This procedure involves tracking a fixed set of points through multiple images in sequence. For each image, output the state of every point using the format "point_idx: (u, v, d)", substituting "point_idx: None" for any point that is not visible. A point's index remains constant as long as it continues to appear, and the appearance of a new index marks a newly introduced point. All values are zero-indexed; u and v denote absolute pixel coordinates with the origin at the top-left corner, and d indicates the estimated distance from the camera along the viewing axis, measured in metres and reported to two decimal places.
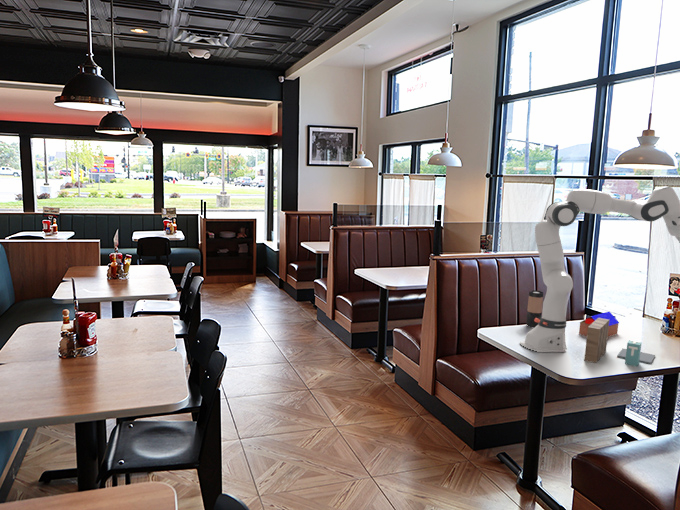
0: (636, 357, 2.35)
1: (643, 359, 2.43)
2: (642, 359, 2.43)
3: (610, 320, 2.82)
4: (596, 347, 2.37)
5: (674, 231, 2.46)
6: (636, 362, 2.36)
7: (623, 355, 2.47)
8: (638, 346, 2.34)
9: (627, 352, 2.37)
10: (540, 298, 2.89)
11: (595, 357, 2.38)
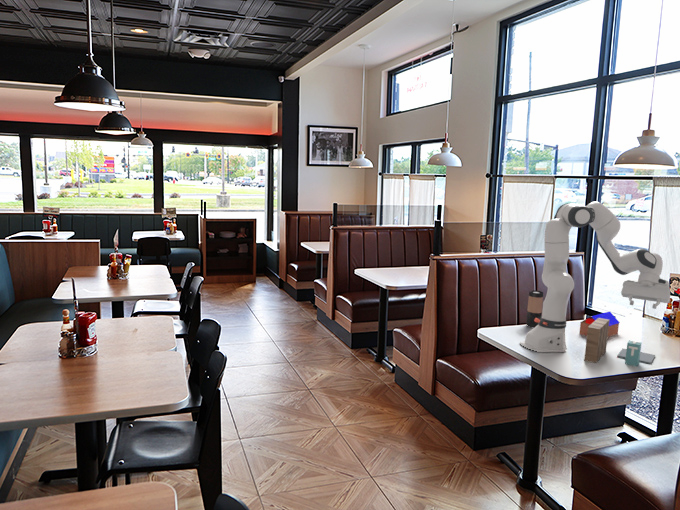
0: (636, 357, 2.35)
1: (643, 359, 2.43)
2: (642, 359, 2.43)
3: (610, 320, 2.82)
4: (596, 347, 2.37)
5: (639, 290, 2.49)
6: (636, 362, 2.36)
7: (623, 355, 2.47)
8: (638, 346, 2.34)
9: (627, 352, 2.37)
10: (540, 298, 2.89)
11: (595, 357, 2.38)
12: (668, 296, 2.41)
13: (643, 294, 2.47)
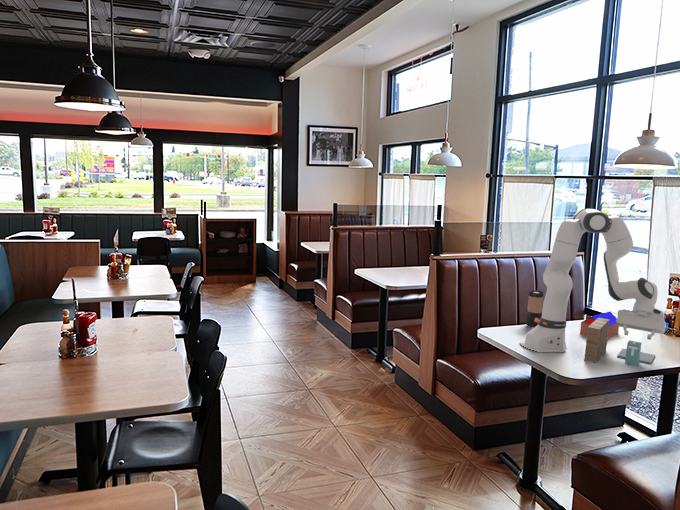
0: (636, 357, 2.35)
1: (643, 359, 2.43)
2: (642, 359, 2.43)
3: (611, 320, 2.82)
4: (596, 347, 2.37)
5: (634, 320, 2.47)
6: (636, 362, 2.36)
7: (623, 355, 2.47)
8: (638, 346, 2.34)
9: (627, 352, 2.37)
10: (540, 298, 2.89)
11: (595, 357, 2.38)
12: (663, 327, 2.39)
13: (638, 324, 2.44)
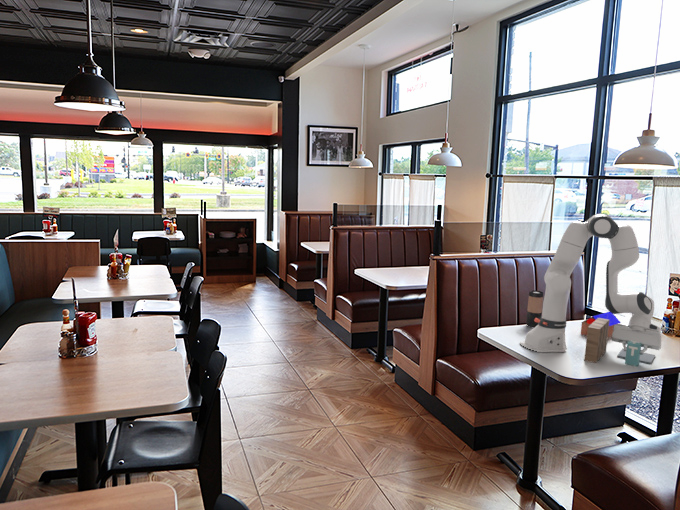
0: (636, 357, 2.35)
1: (643, 359, 2.43)
2: (642, 359, 2.43)
3: (612, 320, 2.82)
4: (596, 347, 2.37)
5: (630, 335, 2.41)
6: (636, 362, 2.36)
7: (623, 355, 2.47)
8: (638, 346, 2.34)
9: (627, 352, 2.37)
10: (540, 298, 2.89)
11: (595, 357, 2.38)
12: (659, 343, 2.34)
13: (634, 340, 2.39)
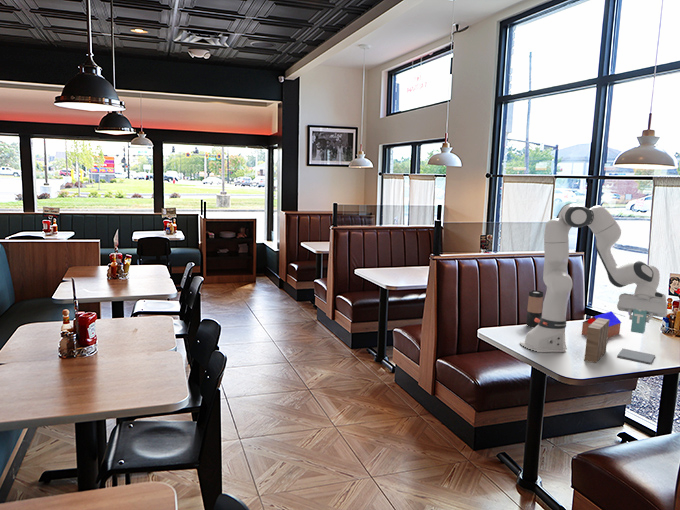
0: (642, 324, 2.37)
1: (643, 359, 2.43)
2: (642, 359, 2.43)
3: (612, 320, 2.82)
4: (596, 347, 2.37)
5: (635, 303, 2.43)
6: (642, 329, 2.37)
7: (623, 355, 2.47)
8: (644, 313, 2.36)
9: (633, 320, 2.39)
10: (540, 298, 2.89)
11: (595, 357, 2.38)
12: (665, 310, 2.35)
13: (639, 308, 2.41)
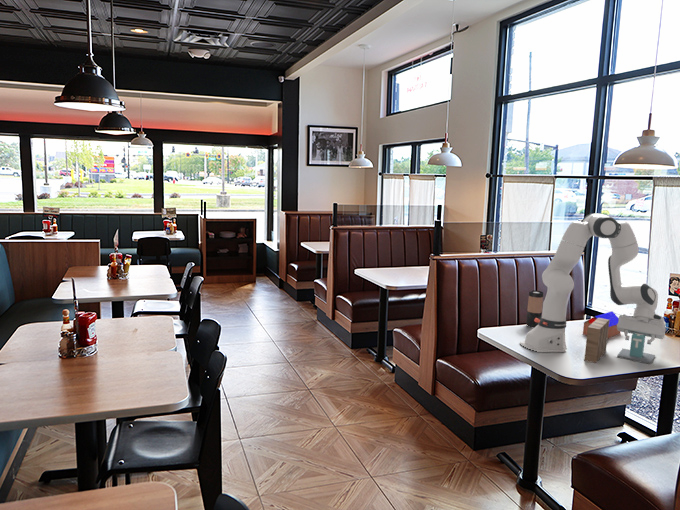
0: (640, 349, 2.45)
1: (643, 359, 2.43)
2: (642, 359, 2.43)
3: (613, 320, 2.83)
4: (596, 347, 2.37)
5: (634, 325, 2.51)
6: (640, 354, 2.45)
7: (623, 355, 2.47)
8: (642, 338, 2.44)
9: (632, 344, 2.47)
10: (540, 298, 2.89)
11: (595, 357, 2.38)
12: (663, 332, 2.43)
13: (638, 329, 2.48)
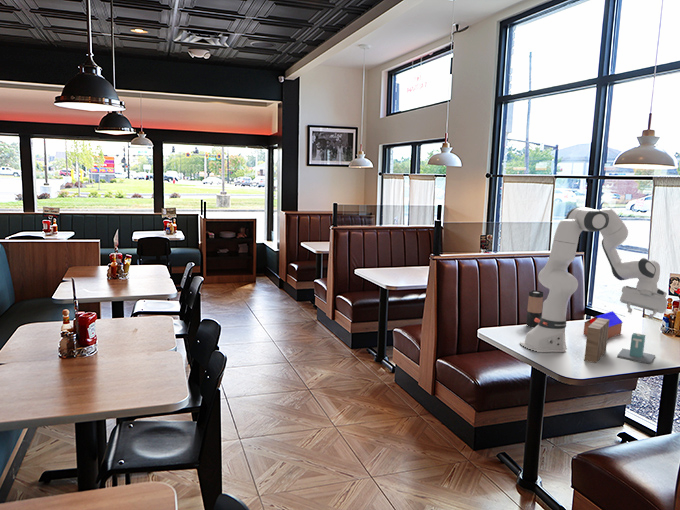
0: (640, 349, 2.45)
1: (643, 359, 2.43)
2: (642, 359, 2.43)
3: (614, 320, 2.83)
4: (596, 347, 2.37)
5: (638, 298, 2.58)
6: (640, 354, 2.45)
7: (623, 355, 2.47)
8: (642, 338, 2.44)
9: (632, 344, 2.47)
10: (540, 298, 2.89)
11: (595, 357, 2.38)
12: (665, 308, 2.53)
13: (642, 303, 2.56)
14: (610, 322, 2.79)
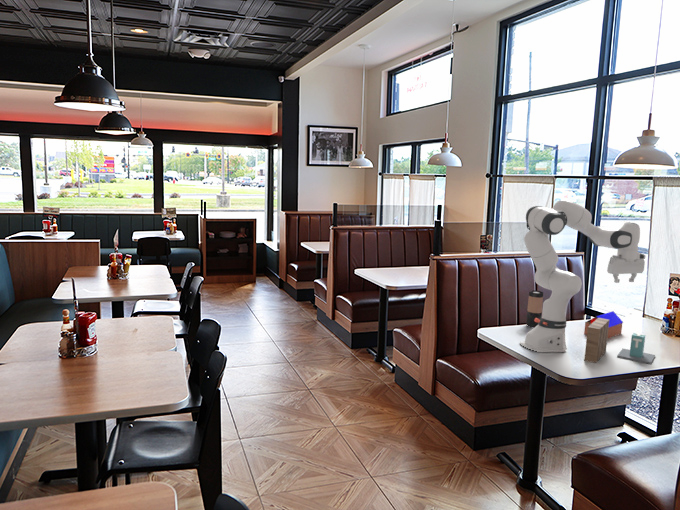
0: (640, 349, 2.45)
1: (643, 359, 2.43)
2: (642, 359, 2.43)
3: (614, 320, 2.83)
4: (596, 347, 2.37)
5: (624, 268, 2.55)
6: (640, 354, 2.45)
7: (623, 355, 2.47)
8: (642, 338, 2.44)
9: (632, 344, 2.47)
10: (540, 298, 2.89)
11: (595, 357, 2.38)
12: (643, 270, 2.59)
13: (627, 272, 2.56)
14: (611, 322, 2.79)
